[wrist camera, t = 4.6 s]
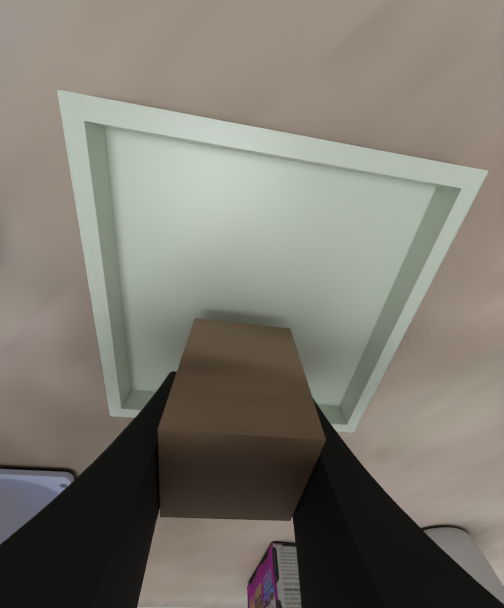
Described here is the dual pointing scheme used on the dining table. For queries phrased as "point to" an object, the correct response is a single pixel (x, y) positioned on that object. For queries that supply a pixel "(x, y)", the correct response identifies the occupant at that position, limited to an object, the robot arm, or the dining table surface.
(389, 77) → the dining table surface
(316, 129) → the dining table surface
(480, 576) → the milk bottle
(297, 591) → the candy bar box
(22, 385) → the dining table surface
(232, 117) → the dining table surface
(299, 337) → the tray
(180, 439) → the walnut block
